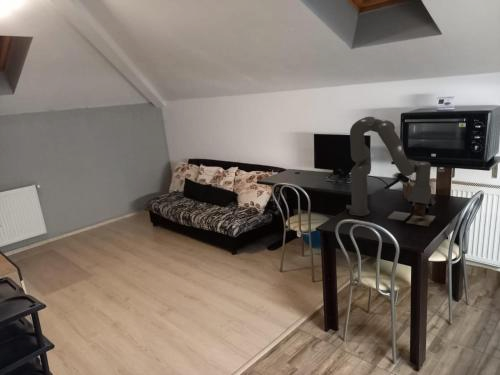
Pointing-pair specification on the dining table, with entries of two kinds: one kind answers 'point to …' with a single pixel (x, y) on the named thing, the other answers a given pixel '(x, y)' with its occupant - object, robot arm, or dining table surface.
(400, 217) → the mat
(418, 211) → the walnut block
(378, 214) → the dining table surface
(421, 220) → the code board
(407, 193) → the stack of blocks
